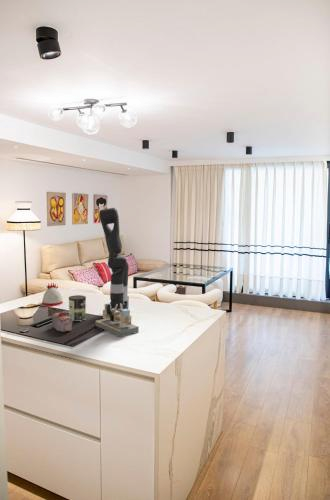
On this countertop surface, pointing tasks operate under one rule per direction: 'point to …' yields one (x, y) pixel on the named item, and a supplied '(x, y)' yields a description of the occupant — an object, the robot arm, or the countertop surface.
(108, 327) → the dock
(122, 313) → the crate
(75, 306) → the coffee can
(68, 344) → the countertop surface
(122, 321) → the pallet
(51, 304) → the kitchen timer
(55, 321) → the food item
